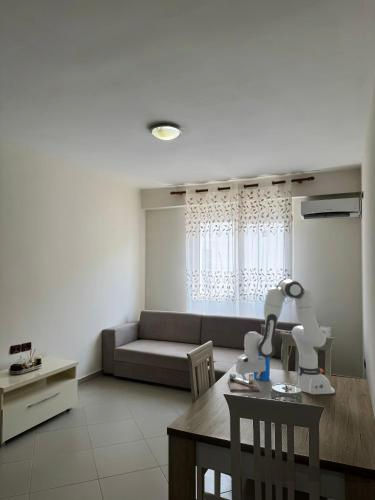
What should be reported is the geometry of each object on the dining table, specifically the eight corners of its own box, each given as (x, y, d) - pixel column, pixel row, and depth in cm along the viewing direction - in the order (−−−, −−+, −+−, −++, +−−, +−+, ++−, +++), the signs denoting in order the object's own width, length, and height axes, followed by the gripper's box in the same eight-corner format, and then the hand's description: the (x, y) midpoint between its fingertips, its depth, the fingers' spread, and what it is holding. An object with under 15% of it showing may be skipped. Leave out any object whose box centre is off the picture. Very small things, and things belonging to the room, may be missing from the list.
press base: (254, 381, 233) (254, 378, 234) (259, 392, 214) (259, 388, 215) (227, 381, 234) (227, 378, 234) (230, 391, 215) (230, 388, 215)
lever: (228, 379, 231) (228, 368, 232) (232, 378, 234) (232, 367, 234) (251, 386, 218) (251, 375, 218) (254, 385, 221) (254, 374, 221)
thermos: (252, 380, 236) (252, 343, 237) (254, 375, 247) (254, 339, 248) (269, 382, 233) (269, 344, 234) (270, 377, 243) (270, 341, 244)
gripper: (262, 354, 228) (262, 376, 227) (234, 357, 221) (234, 379, 220) (267, 357, 222) (267, 379, 222) (239, 360, 215) (239, 382, 214)
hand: (251, 379), depth 221 cm, fingers open, 8 cm apart
